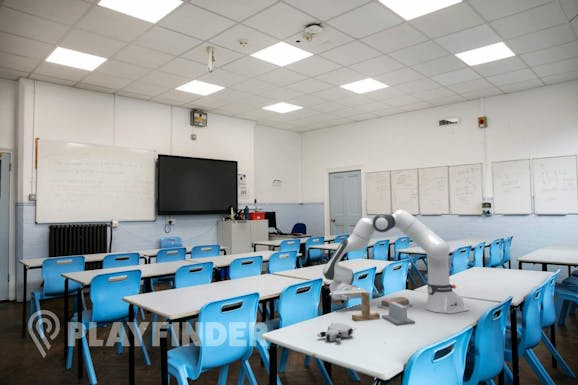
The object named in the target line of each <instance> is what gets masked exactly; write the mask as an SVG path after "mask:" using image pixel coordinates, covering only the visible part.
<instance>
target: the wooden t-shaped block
mask: <svg viewBox="0 0 578 385" xmlns="http://www.w3.org/2000/svg"><path fill="white" fill-rule="evenodd" d="M361 294H362V298H361V313H356V314H351V320H352V321H354V322H362V321H373V320H381V314H380V313H378V312H372V313H371V304H370V303H371V300H370V299H371V298H370V292H368V291H367V292H361Z"/></svg>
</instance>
